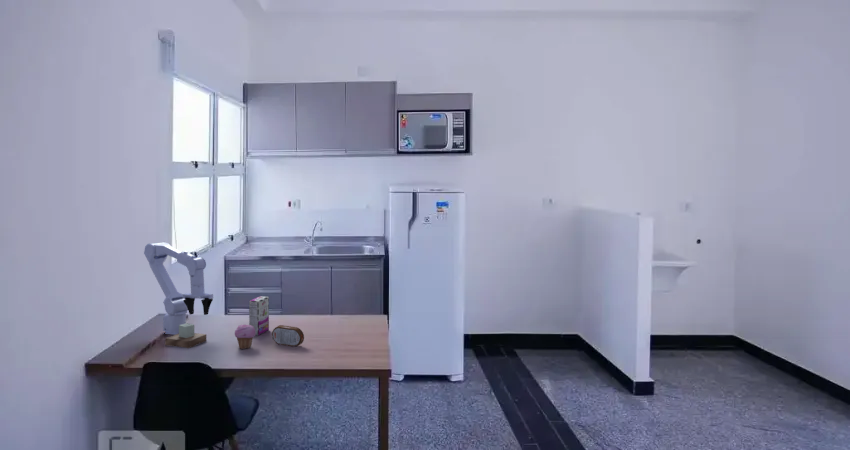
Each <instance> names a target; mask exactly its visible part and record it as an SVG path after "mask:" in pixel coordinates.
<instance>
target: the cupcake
mask: <svg viewBox="0 0 850 450" xmlns="http://www.w3.org/2000/svg"><path fill="white" fill-rule="evenodd" d="M255 334H256V333H255V329H254V327H253V326H251V325H249V324H240V325H238V326H237V328H236V329H235V330H234V336H235V338H236V339H237V343H238V344H237V345H238V348H239V349H241V350H245V349H250V348H251V347H252V343H253V339H254V338H255Z"/></svg>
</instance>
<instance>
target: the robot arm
mask: <svg viewBox="0 0 850 450" xmlns="http://www.w3.org/2000/svg"><path fill="white" fill-rule="evenodd" d="M143 250H144V251H143V255H144V256H145V258H146V260H147V261H148V264H149V267H150V269H151V271H152V273H153V275H154V277H155V278H156V280H157V282H158V285H159V286H160V288H161V290H162V293H163V294H164V296H165V298H164V300H163V305H164V310H165V312H166V313H165V314H164V316H163V320H162V332H163V331H165V332H166V333H165V334H166V335H172V336H173V335H175V334H178V333H179V325H182V324H186V323H187V313H189V316H190V315H194V313H195V300H196V299H201V301H200V302H201V304H202V309H203V315H204V316H207V315H208V314H209V311H210V307H211V305H212V302H213V299H214V294H213V293H205V277H204V276H205V275H204V274H205V273H204V270H205V268H206V266H207V262H206V259H205V258H203V257H201V256H200V257H197V256H196V255H193V254H191V253H189V251H187V250H185V251H183V250H182V251H179V250H178V249H176V248H175V247H173V246H172V245H171V244H170V243H168V242H165V241H163V242H157V243H155V242H154V243H147V244H146V245H145V247H144V249H143ZM168 256H169V257H171V258H173V259H176V262H177V263H179V264H180V265H182V266H184V267H186V268H187V271H188V274H189V277H190V279H189V280H190V293H184V294H183V293H181V292H179V291H178V290H177V288H176V286H175V284H174V282H173V281H172V279H171V277H170V275H169V273H168V271H167V269H166V267H165V266H164V262H166V259H167V257H168ZM165 334H164V335H165Z"/></svg>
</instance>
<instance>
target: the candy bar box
mask: <svg viewBox="0 0 850 450" xmlns="http://www.w3.org/2000/svg"><path fill="white" fill-rule="evenodd" d="M269 301H270V297H269V296H264V295H262V296H261V295H260V296H258V297H255V298H253V299H251V300H249V301H248V305H249V306H248V307H249V309H248V315H249V317H248V318H249V319H248V320H249V322H248V323H249V324H248V325H251V326H253V327H254V329H255V333H256V334H255V336H261V335H262V334H264V333H266V332H268V331H269V329H270V321H269V320H270V317H269V316H270V304H269V303H270V302H269ZM255 336H254V337H255Z"/></svg>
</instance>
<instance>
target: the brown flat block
mask: <svg viewBox="0 0 850 450" xmlns="http://www.w3.org/2000/svg"><path fill="white" fill-rule="evenodd" d="M205 342H207V333H199V332H194V336H192V337H188V338H183V337H179V333H178V334H175V335H173V334H172V335H171V336H168V337H165V338H164V344H165V346H168V347H169V346H170V347H177V348H178V347H179V348H187V349H191V348H193V347H195V346H198V345H200V344H202V343H205Z"/></svg>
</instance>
